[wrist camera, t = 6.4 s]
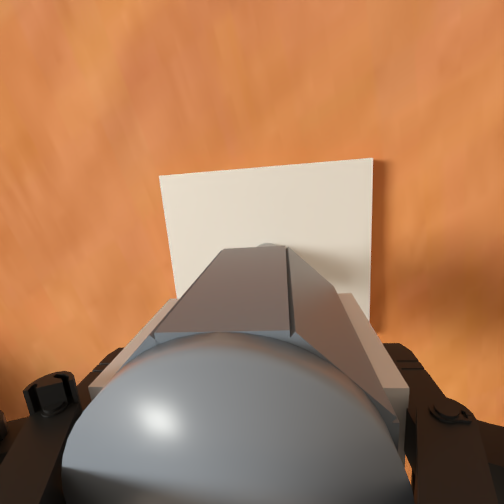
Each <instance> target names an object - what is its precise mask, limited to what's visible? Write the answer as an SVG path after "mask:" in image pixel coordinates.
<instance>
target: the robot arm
mask: <svg viewBox="0 0 504 504" xmlns="http://www.w3.org/2000/svg"><path fill="white" fill-rule="evenodd" d="M337 294H338V296H339V298H340V300H341V302H342V304H343V306H344V308H345V310H346V313H347V315H348V317H349V319H350V321H351V323H352V325H353V327H354V329H355V331H356V333H357V335H358V337H359V339H360V342H361V344H362V346H363V348H364V350H365V352H366V354H367V356H368V358H369V360H370V362H371V364H372V366H373V368H374V371H375V373H376V375H377V377H378V379H379V381H380V383H381V385H382V387H383V389H384V391H385V393H386V395H387V398H388V400H389V402H390V404H391V406H392V408H393V410H394V412H395V414H396V416H397V418H398V421H399V423H400V424H399V442H398V454H399V457H400V459H401V461H402V464H403V466H404V467H405V454H406V456H407V459H408V461H409V463H410V465H411V468H412V479H411V487H412V491H413V496H414V501H415V504H504V427H502V426H498V425H494V424H489V423H486V422H483V421H479V420H477V419H476V418H475V417H474V415H473V413H472V412H471V411H469V410H468V409H467V408H466V407H465V406H464V405H462V404H460V403H458V402H457V401H455V400H452V399H449V398H446V397H445V395H444V394H443V393H442V391H441V390H440V389H439V387H438V386H437V385H436V383H435V382H434V381H433V379H432V378H431V377H430V375H429V374H428V373H427V371H426V370H424V367H423V366H422V365H421V363H420V362H418V359H417V358H416V357H415V355H414V354H413V353H412V351H411V350H409V349H408V348H406V347H405V346H403V345H402V344H400V343H382V342H381V341H380V339H379V337H378V336H377V334H376V332H375V331H374V329H373V327H372V326H371V324H370V322H369V321H368V319H367V318H366V316H365V314H364V313H363V311H362V309H361V308H360V306H359V304H358V303H357V301H356V299H355V298H354V296H353V295H352V293H337ZM178 300H179V299H169V300H168V301H167V303H166V304H165V305H164V306H163V307H162V308H161V309H160V310H159V311H158V312H157V313H156V314H155V315H154V317H153V318H152V319H151V320H150V321H149V322H148V323H147V324H146V325H145V326H144V327H143V328H142V329H141V330H140V332H139V333H138V334H137V335H136V336H135V337H134V338H133V339H132V340H131V341H130V342H129V343H128V344H127V346H126V347H125V348H118V349H116V350H115V351H113V352H112V353H110V354H108V355H107V356H106V357H105V358H104V359H103V360H102V361H101V362H100V363H99V365H97V366H96V367H95V368H94V369H93V371H92V372H90V373H89V374H88V375H87V376H86V377H85V378H84V379H83V380H82V381H81V382H80V383H79V384H78V385H77V386H76V382H75V379H74V375H73V374H72V373H71V372H67V371H61V372H55V373H52V374H48V375H46V376H43V377H41V378H39V379H37V380H36V381H34V382H33V383H31V384H30V385H28V386H27V387H26V388H25V389H24V390H23V394H24V397H25V400H26V403H27V406H28V410H29V413H30V416H29V417H26V418H22V419H18V420H13V421H9V422H6V419H5V416H4V413H3V412H2V411H1V410H0V504H66V502H65V498H64V494H63V490H62V477H61V470H62V459H63V453H64V450H65V446H66V443H67V439H68V437H69V435H70V433H71V431H72V429H73V427H74V425H75V423H76V421H77V420H78V419H79V417H80V416H81V415H82V412H83V411H84V410H85V409H86V407H87V406H88V405H89V404H90V403H91V402H92V400H93V399H94V398H95V397H96V396H97V395H98V393H99V392H100V391H101V390H102V389H103V388H104V386H105V385H106V384H107V383H108V382H109V381H110V379H111V378H112V377H113V376H114V375H115V374H116V372H117V371H118V370H119V369H120V368H121V367H122V365H123V364H124V363H125V362H126V361H127V359H128V358H129V357H130V356H131V355H132V354H133V352H134V351H135V350H136V349H137V348H138V347H139V345H140V344H141V343H142V342H143V341H144V340H145V338H146V337H147V336H148V335H149V334H150V333H151V331H152V330H153V329H154V328H155V327H156V326H157V324H158V323H159V322H160V321H161V320H162V319H163V317H164V316H165V315H166V314H167V313H168V312H169V310H170V309H171V308H172V307H173V306H174V305H175V303H176V302H177V301H178Z"/></svg>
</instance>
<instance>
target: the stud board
mask: <svg viewBox="0 0 504 504" xmlns="http://www.w3.org/2000/svg"><path fill="white" fill-rule="evenodd" d="M159 180H160V187H161V193H162V200H163V207H164V214H165V220H166V227H167V234H168V240H169V247H170V254H171V261H172V267H173V274H174V281H175V288H176V294H177V299H180V298H181V296H182V295H183V294H184V293H185V292H186V291H187V289H188V288H189V287H190V286H191V285H192V284H193V282H194V281H195V280H196V279H197V278H198V277H199V275H200V274H201V273H202V272H203V271H204V270H205V268H206V267H207V266H208V265H209V264H210V263H211V261H212V260H213V259H214V258H215V257H216V256H217V255H218V253H219V252H220V251H221V250H223V249H228V248H247V247H266V246H285V247H286V248H287V247H289V248H291V249H292V250H293V251H294V252H295V253H296V254H297V255H299V256H300V257H301V258H302V259H303V260H304V261H305V262H307V263H308V264H309V265H310V266H311V267H312V268H313V269H315V270H316V271H317V272H318V273H319V274H320V275H321V276H323V277H324V278H325V279H326V280H327V281H328V282H329V283H331V284H332V285H333V286H334V288H335V290H336V292H337V293H352V295H353V296H354V298H355V299H356V301H357V303H358V304H359V306H360V308H361V309H362V311H363V313H364V314H365V316H366V318H367V319H368V321H369V320H370V275H371V230H372V185H373V158H365V159H353V160H342V161H330V162H318V163H306V164H294V165H282V166H270V167H259V168H247V169H235V170H223V171H211V172H199V173H187V174H176V175H164V176H159Z"/></svg>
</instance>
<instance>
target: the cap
mask: <svg viewBox="0 0 504 504" xmlns="http://www.w3.org/2000/svg"><path fill="white" fill-rule="evenodd" d="M399 424H400V423H399V421H398V418H397V416H396V414H395V412H394V410H393V408H392V406H391V404H390V402H389V400H388V398H387V395H386V393H385V391H384V389H383V387H382V385H381V383H380V381H379V379H378V377H377V375H376V373H375V371H374V368H373V366H372V364H371V362H370V360H369V358H368V356H367V354H366V352H365V350H364V348H363V346H362V344H361V342H360V339H359V337H358V335H357V333H356V331H355V329H354V327H353V325H352V323H351V321H350V319H349V317H348V315H347V313H346V310H345V308H344V306H343V304H342V302H341V300H340V298H339V296H338V294H337V292H336V290H335V288H334V286H333V285H332V284H331V283H329V282H328V281H327V280H326V279H325V278H324V277H323V276H321V275H320V274H319V273H318V272H317V271H316V270H315V269H313V268H312V267H311V266H310V265H309V264H308V263H307V262H305V261H304V260H303V259H302V258H301V257H300V256H299V255H297V254H296V253H295V252H294V251H293V250H292V249H291V248H289V247H287V248H286V247H285V246H266V247H247V248H228V249H223V250H221V251H220V252H219V253H218V255H217V256H216V257H215V258H214V259H213V260H212V261H211V263H210V264H209V265H208V266H207V267H206V268H205V270H204V271H203V272H202V273H201V274H200V275H199V277H198V278H197V279H196V280H195V281H194V282H193V284H192V285H191V286H190V287H189V288H188V289H187V291H186V292H185V293H184V294H183V295H182V296H181V298H180V299H179V300H178V301H177V302H176V303H175V305H174V306H173V307H172V308H171V309H170V310H169V312H168V313H167V314H166V315H165V316H164V317H163V319H162V320H161V321H160V322H159V323H158V324H157V326H156V327H155V328H154V329H153V330H152V331H151V333H150V334H149V335H148V336H147V337H146V338H145V340H144V341H143V342H142V343H141V344H140V345H139V347H138V348H137V349H136V350H135V351H134V352H133V354H132V355H131V356H130V357H129V358H128V359H127V361H126V362H125V363H124V364H123V365H122V367H121V368H120V369H119V370H118V371H117V372H116V374H115V375H114V376H113V377H112V378H111V379H110V381H109V382H108V383H107V384H106V385H105V386H104V388H103V389H102V390H101V391H100V392H99V393H98V395H97V396H96V397H95V398H94V399H93V400H92V402H91V403H90V404H89V405H88V406H87V407H86V409H85V410H84V411H83V412H82V415H81V416H80V417H79V419H78V420H77V421H76V423H75V425H74V427H73V429H72V431H71V433H70V435H69V437H68V439H67V443H66V446H65V450H64V453H63V459H62V470H61V477H62V490H63V494H64V498H65V502H66V504H415V501H414V496H413V491H412V487H411V484H410V482H409V479H408V476H407V474H406V471H405V469H404V466H403V464H402V461H401V459H400V457H399V454H398V442H399Z"/></svg>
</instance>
